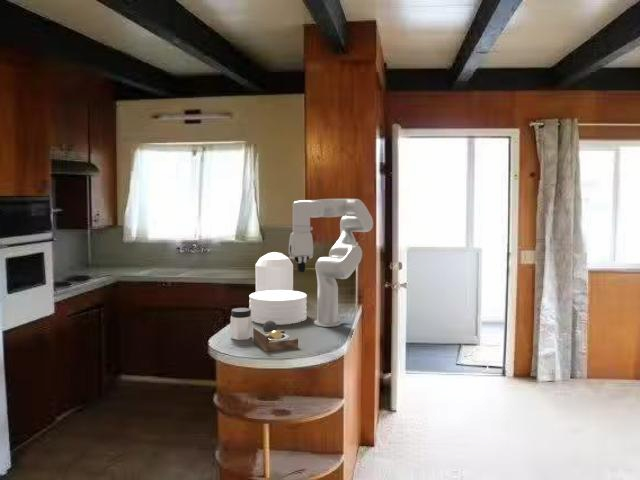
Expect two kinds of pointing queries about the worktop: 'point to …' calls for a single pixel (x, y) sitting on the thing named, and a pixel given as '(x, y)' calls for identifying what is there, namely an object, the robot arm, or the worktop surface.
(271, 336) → the brass ball
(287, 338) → the steel race
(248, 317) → the jar
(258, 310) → the plate stack
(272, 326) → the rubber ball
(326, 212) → the robot arm
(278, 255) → the container
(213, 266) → the worktop surface
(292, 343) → the walnut housing
